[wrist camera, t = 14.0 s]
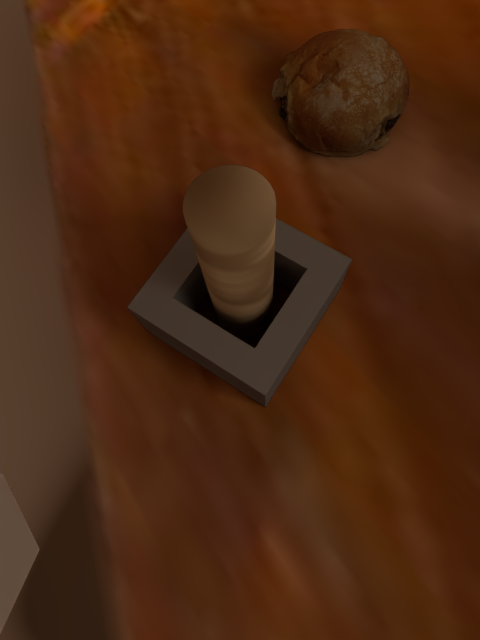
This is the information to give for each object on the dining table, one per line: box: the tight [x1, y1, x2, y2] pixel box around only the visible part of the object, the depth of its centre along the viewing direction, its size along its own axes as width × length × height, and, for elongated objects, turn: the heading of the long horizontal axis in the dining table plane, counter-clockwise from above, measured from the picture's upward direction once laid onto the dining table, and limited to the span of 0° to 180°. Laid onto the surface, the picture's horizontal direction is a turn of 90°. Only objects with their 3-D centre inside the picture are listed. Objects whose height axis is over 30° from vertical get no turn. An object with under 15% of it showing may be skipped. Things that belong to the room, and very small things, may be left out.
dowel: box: [183, 165, 276, 339], centre depth 26 cm, size 4×4×14 cm
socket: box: [127, 219, 352, 407], centre depth 30 cm, size 10×10×5 cm
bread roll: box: [271, 29, 409, 156], centre depth 36 cm, size 10×10×8 cm
